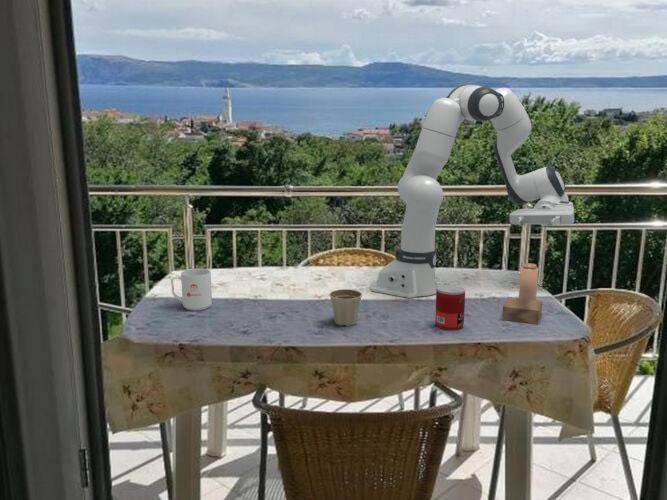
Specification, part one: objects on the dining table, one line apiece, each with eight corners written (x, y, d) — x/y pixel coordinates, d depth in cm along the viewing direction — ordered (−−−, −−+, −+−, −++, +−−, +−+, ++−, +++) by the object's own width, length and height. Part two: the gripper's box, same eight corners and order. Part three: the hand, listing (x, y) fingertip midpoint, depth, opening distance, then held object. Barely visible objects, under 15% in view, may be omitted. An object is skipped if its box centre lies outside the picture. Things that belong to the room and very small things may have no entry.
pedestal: (502, 319, 187) (502, 306, 186) (507, 309, 196) (507, 297, 195) (537, 324, 183) (538, 310, 183) (541, 313, 192) (542, 300, 192)
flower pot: (351, 330, 178) (351, 300, 177) (323, 324, 183) (322, 295, 181) (368, 321, 186) (368, 292, 184) (340, 315, 191) (340, 287, 189)
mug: (213, 302, 204) (211, 268, 201) (210, 311, 195) (209, 275, 193) (174, 303, 203) (172, 269, 200) (170, 312, 194) (168, 276, 191)
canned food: (463, 331, 178) (465, 293, 175) (434, 329, 179) (435, 291, 177) (463, 322, 185) (465, 285, 183) (435, 320, 187) (437, 283, 184)
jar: (517, 306, 199) (519, 265, 196) (519, 301, 204) (522, 262, 201) (534, 308, 197) (537, 267, 194) (536, 303, 202) (539, 263, 199)
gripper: (515, 203, 220) (502, 214, 209) (577, 202, 209) (568, 213, 198) (516, 221, 222) (504, 232, 211) (578, 221, 211) (569, 233, 200)
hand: (535, 223), depth 204 cm, fingers open, 8 cm apart
